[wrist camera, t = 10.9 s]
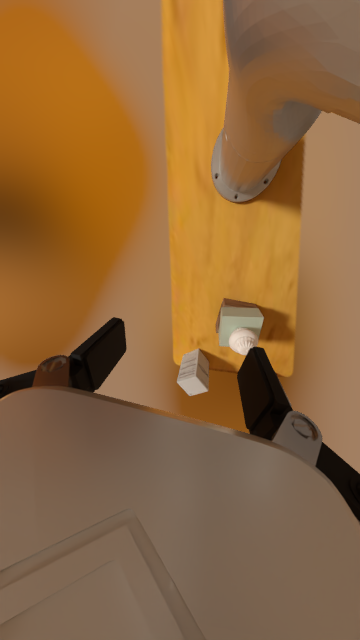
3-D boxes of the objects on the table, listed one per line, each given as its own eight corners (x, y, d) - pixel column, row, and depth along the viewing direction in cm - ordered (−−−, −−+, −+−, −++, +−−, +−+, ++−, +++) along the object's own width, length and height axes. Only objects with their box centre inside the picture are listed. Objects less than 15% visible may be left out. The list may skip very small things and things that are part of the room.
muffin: (228, 320, 35) (234, 338, 29) (255, 322, 34) (268, 340, 28) (224, 342, 38) (229, 361, 32) (249, 344, 37) (259, 364, 31)
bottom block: (223, 297, 43) (224, 304, 39) (255, 303, 42) (260, 311, 38) (215, 323, 48) (216, 332, 43) (244, 329, 47) (247, 339, 42)
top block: (221, 307, 39) (222, 316, 35) (258, 308, 37) (263, 317, 33) (218, 335, 44) (219, 345, 39) (251, 336, 42) (256, 348, 38)
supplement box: (209, 361, 56) (209, 391, 45) (193, 367, 59) (189, 396, 48) (199, 347, 53) (196, 376, 43) (182, 354, 56) (175, 382, 46)
